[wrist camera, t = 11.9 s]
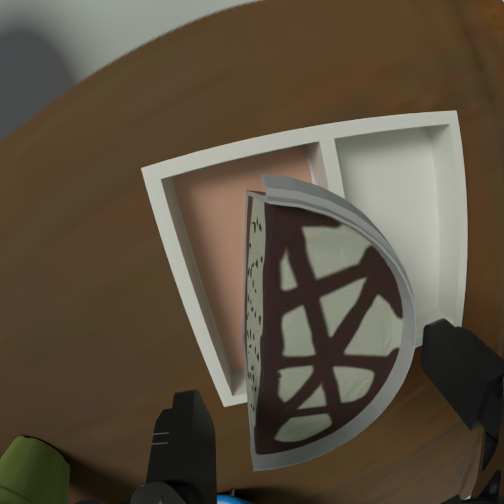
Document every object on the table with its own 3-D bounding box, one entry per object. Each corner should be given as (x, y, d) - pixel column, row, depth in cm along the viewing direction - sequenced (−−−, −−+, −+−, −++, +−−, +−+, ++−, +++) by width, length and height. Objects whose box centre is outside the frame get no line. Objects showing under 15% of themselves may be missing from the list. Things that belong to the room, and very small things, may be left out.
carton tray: (429, 112, 18) (456, 110, 15) (440, 310, 23) (461, 326, 20) (152, 165, 17) (141, 168, 15) (222, 379, 23) (224, 406, 20)
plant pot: (11, 461, 25) (-14, 523, 14) (-10, 404, 22) (-52, 477, 11) (93, 493, 27) (79, 564, 17) (87, 444, 24) (62, 537, 13)
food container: (329, 350, 22) (380, 459, 12) (241, 353, 21) (253, 477, 12) (351, 169, 18) (462, 196, 8) (246, 163, 17) (269, 179, 8)
